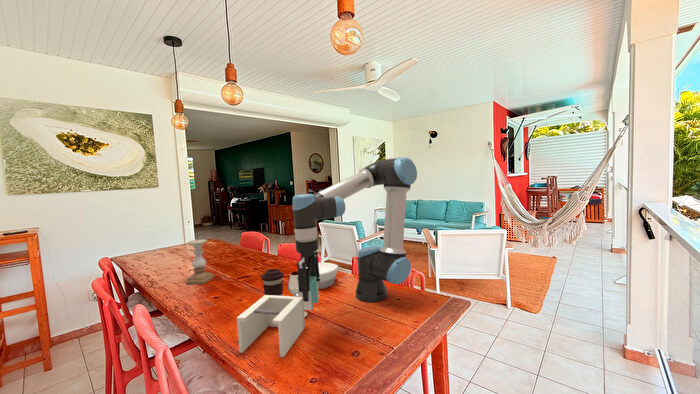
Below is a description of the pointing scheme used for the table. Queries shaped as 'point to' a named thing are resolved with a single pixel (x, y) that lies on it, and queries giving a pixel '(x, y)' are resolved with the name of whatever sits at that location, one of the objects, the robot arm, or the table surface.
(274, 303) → the white c-frame
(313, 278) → the teal u-shaped bracket
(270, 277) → the coffee cup
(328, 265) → the bowl
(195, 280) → the candle holder
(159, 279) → the table surface
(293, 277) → the wineglass
